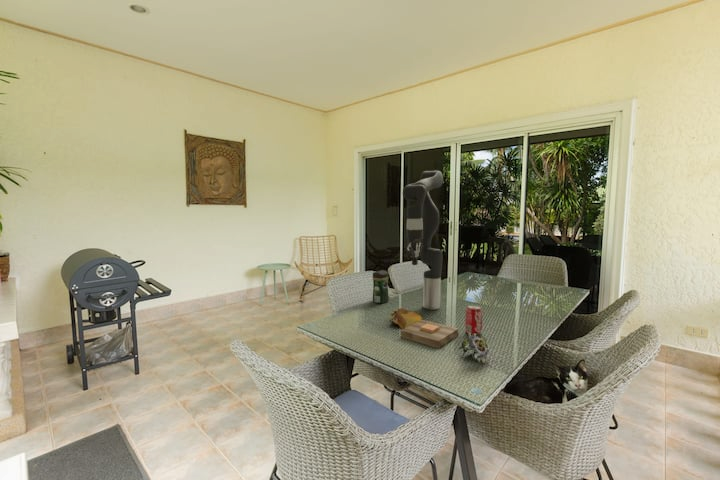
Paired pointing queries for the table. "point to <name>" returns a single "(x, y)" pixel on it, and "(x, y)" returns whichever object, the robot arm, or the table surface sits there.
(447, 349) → the table surface
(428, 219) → the robot arm
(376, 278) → the coffee jar
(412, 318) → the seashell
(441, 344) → the button plate
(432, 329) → the push button
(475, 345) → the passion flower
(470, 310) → the soda can
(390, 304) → the table surface
